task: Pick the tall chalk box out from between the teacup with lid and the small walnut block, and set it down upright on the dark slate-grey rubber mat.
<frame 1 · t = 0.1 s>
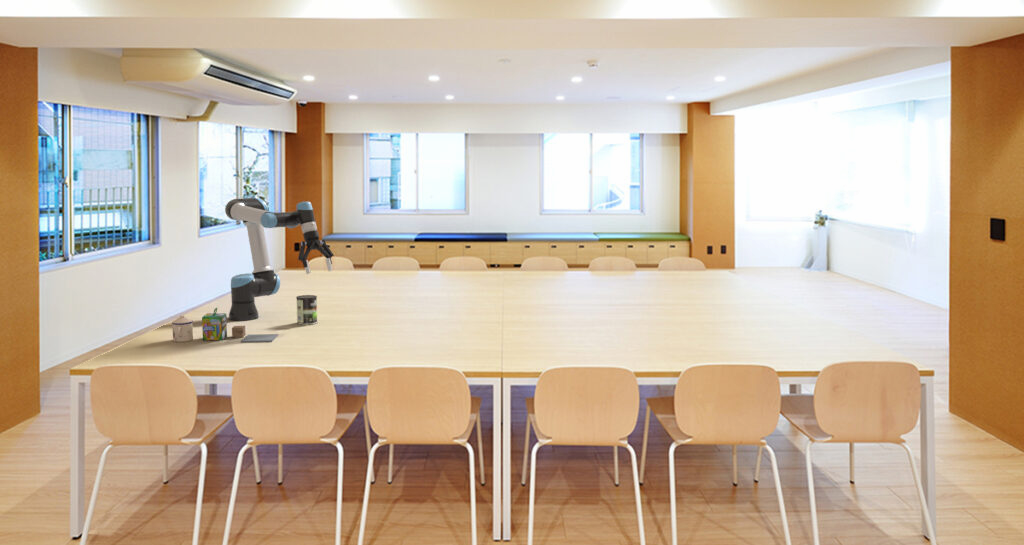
hand: (319, 272, 398), 28 cm above the table, tool tilted 20°, fingers open, 13 cm apart
chalk box: (215, 339, 371), on the table
walnut block: (239, 336, 375), on the table
slate mat: (259, 339, 371), on the table
teacup with lid: (182, 341, 366), on the table
coffee can: (307, 323, 410), on the table
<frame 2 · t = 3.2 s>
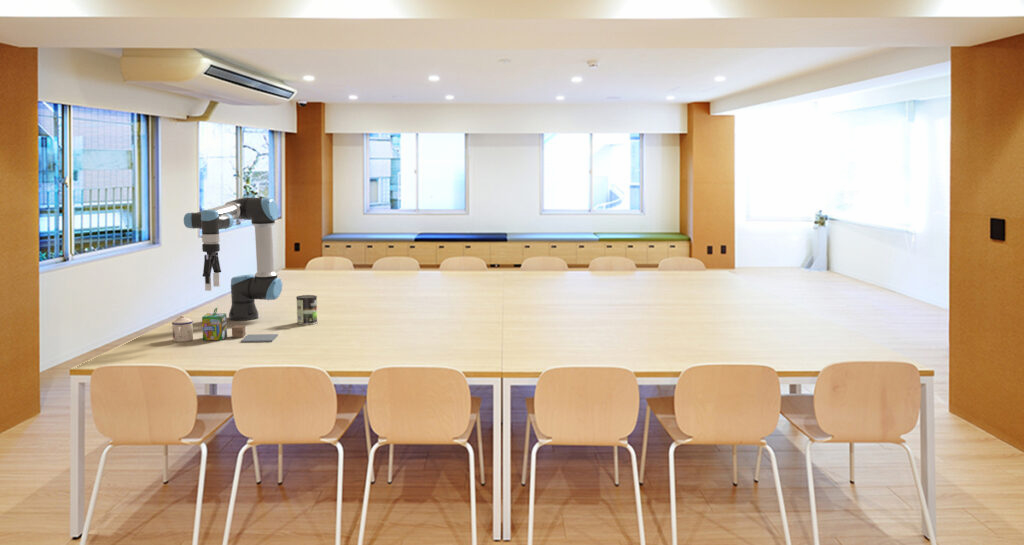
hand: (212, 288, 367), 24 cm above the table, tool pointing down, fingers open, 13 cm apart
nothing on the table moved.
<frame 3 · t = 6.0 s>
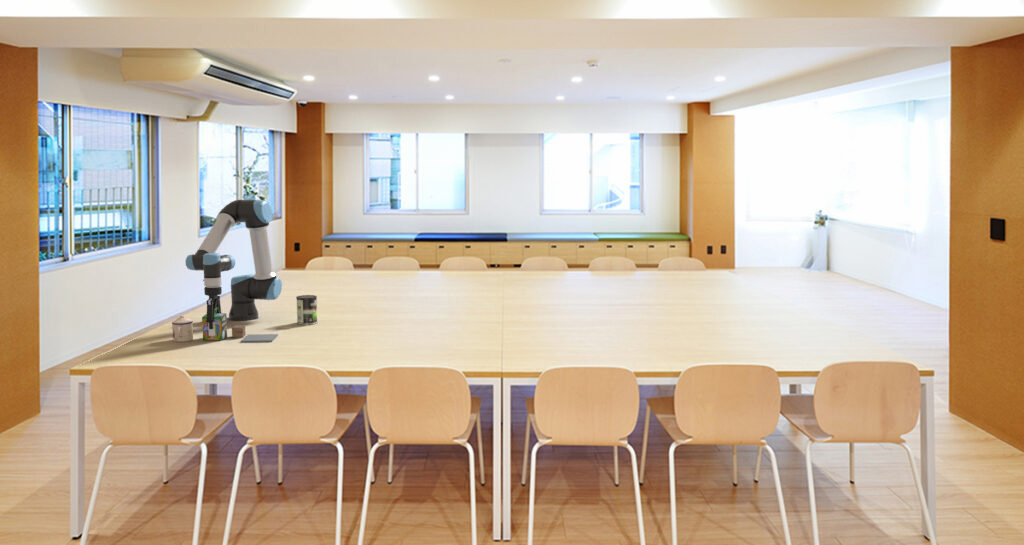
hand: (214, 333, 370), 3 cm above the table, tool pointing down, fingers closed on chalk box, 9 cm apart
chalk box: (215, 339, 371), on the table, touching gripper
everything else where it was.
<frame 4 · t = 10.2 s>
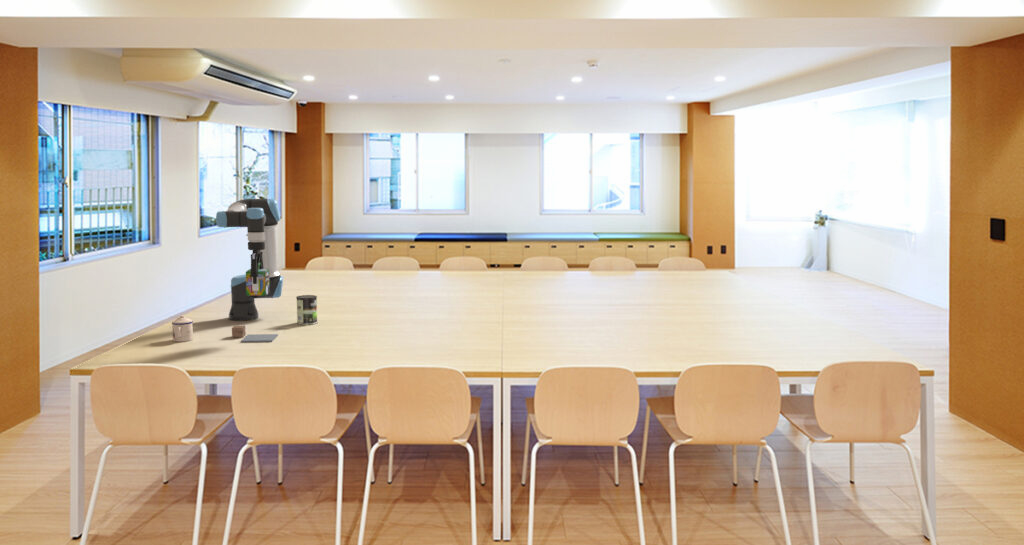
hand: (257, 289, 367), 24 cm above the table, tool pointing down, fingers closed on chalk box, 9 cm apart
chalk box: (258, 294, 368), point 21 cm above the table, touching gripper
everything else where it was.
when the fingers open (5 cm above the table, at t = 14.4 s): chalk box drops 1 cm, resting on slate mat.
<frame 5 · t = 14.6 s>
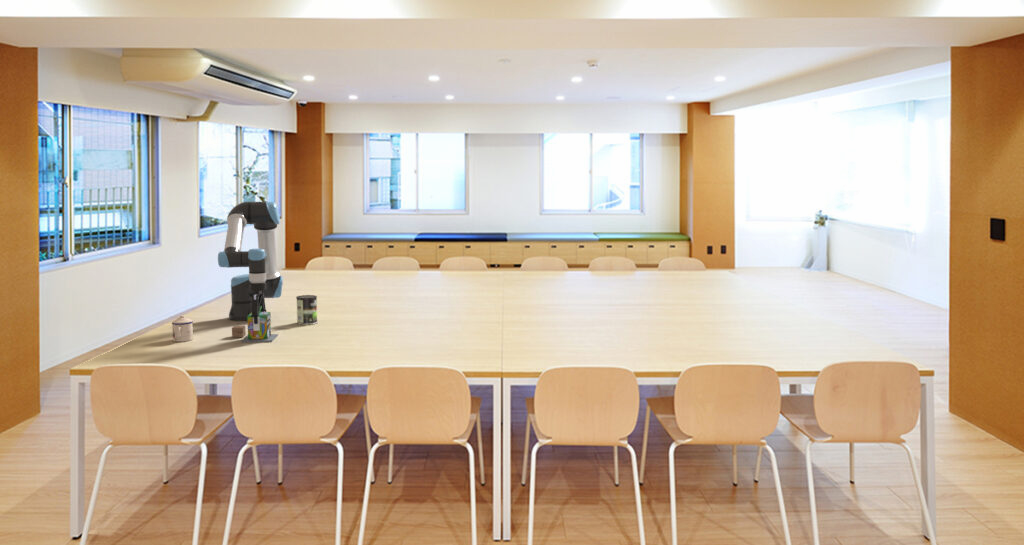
hand: (259, 328, 370), 5 cm above the table, tool pointing down, fingers open, 11 cm apart
chalk box: (259, 337, 370), point 1 cm above the table, touching slate mat
everything else where it was.
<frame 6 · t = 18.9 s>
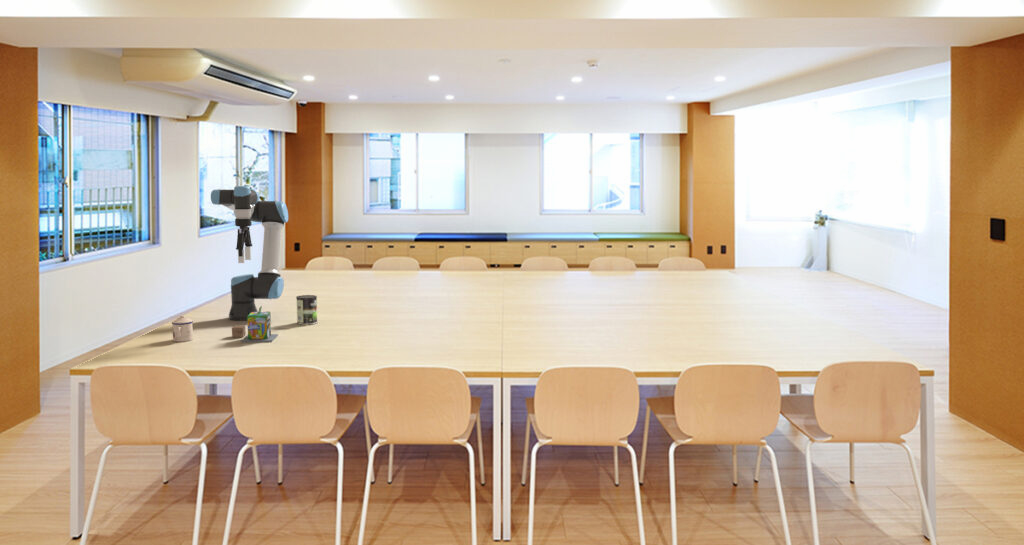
hand: (244, 261, 384), 35 cm above the table, tool pointing down, fingers open, 13 cm apart
nothing on the table moved.
at the end: chalk box inside the target area on the slate mat (0.2 cm from its centre), point 0.6 cm above the slate mat's base; chalk box tilted 0°; the gripper is holding nothing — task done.
